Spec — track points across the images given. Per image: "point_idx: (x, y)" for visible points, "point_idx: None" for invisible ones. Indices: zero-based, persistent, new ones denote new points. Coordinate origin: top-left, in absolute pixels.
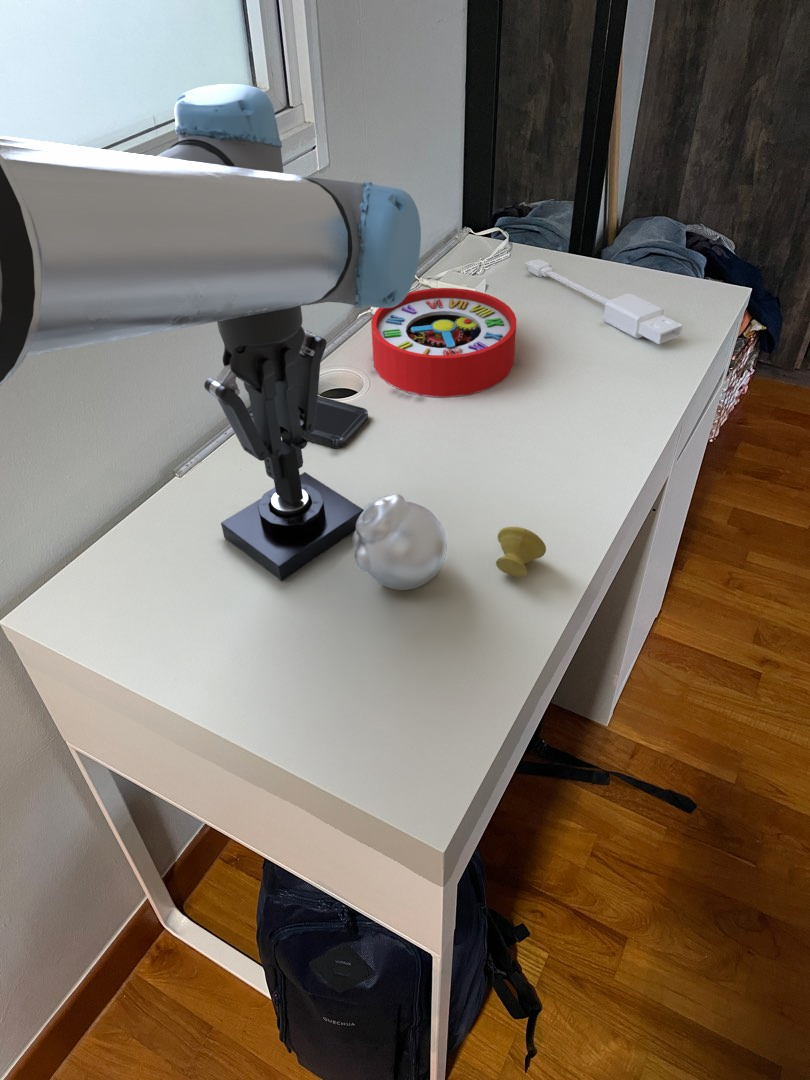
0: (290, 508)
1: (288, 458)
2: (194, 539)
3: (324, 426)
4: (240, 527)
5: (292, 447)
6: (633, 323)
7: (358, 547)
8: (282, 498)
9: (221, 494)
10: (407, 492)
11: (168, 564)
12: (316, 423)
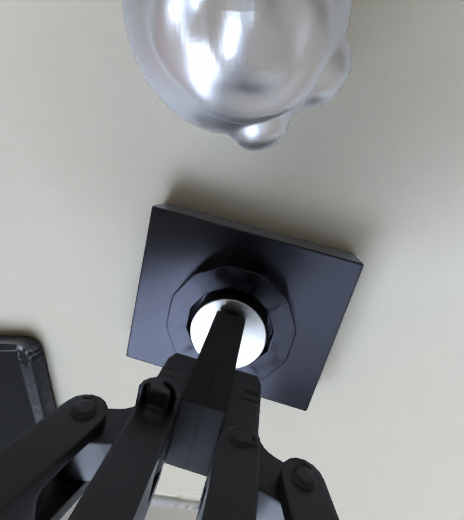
0: (252, 318)
1: (216, 395)
2: (326, 424)
3: (12, 386)
4: (302, 377)
5: (178, 410)
6: None
7: (322, 87)
8: None
9: None
10: (57, 180)
11: (392, 428)
12: (15, 400)
